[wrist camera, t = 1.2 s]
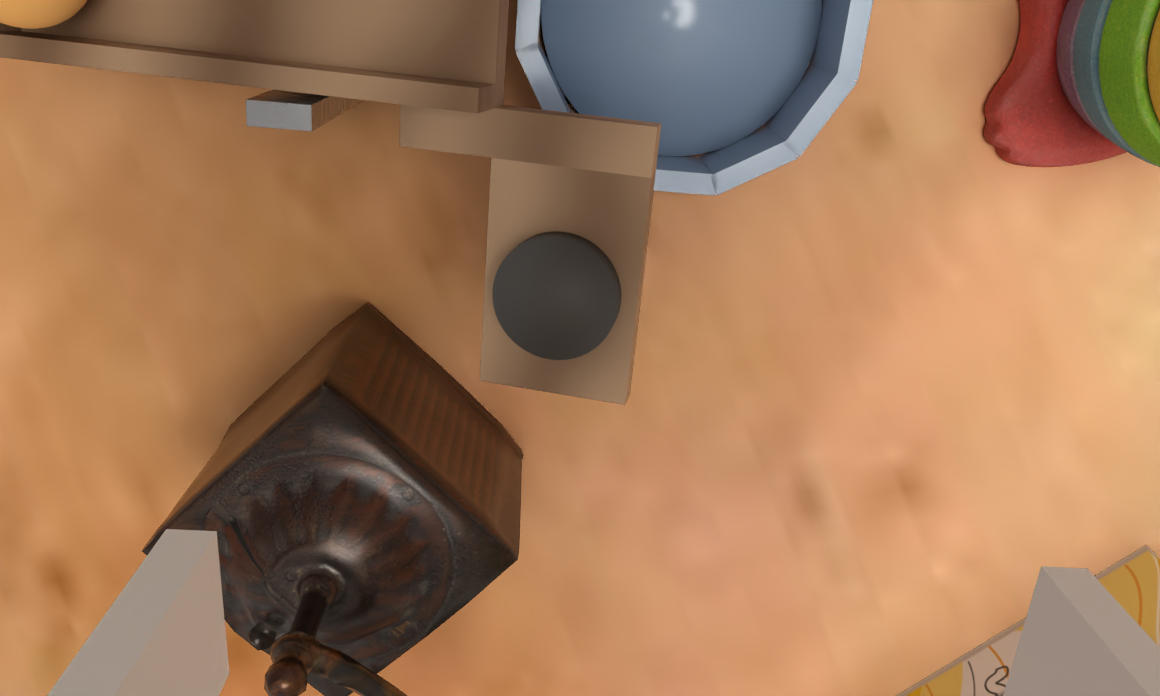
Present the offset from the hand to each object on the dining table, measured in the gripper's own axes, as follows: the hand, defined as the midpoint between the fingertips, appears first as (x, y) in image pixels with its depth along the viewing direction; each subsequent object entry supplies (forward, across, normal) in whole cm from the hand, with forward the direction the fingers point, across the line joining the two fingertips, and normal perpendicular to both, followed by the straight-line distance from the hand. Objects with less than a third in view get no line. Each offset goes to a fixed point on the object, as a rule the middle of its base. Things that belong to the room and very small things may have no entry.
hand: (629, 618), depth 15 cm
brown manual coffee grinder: (+27, -8, -13) cm, 31 cm away
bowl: (+27, +3, +9) cm, 28 cm away
